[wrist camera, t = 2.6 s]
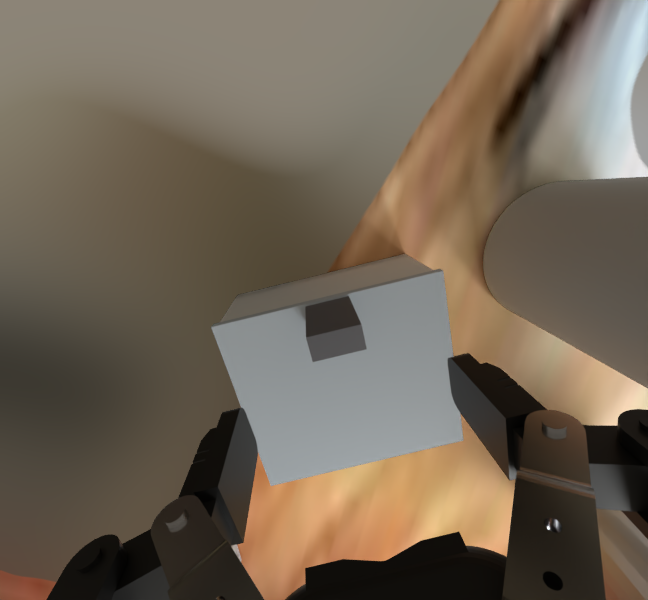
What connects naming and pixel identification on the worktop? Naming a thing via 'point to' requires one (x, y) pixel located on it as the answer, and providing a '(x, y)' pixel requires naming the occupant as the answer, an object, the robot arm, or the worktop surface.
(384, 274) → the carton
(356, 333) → the grey plate
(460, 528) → the worktop surface
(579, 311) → the cylinder vase
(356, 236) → the worktop surface
